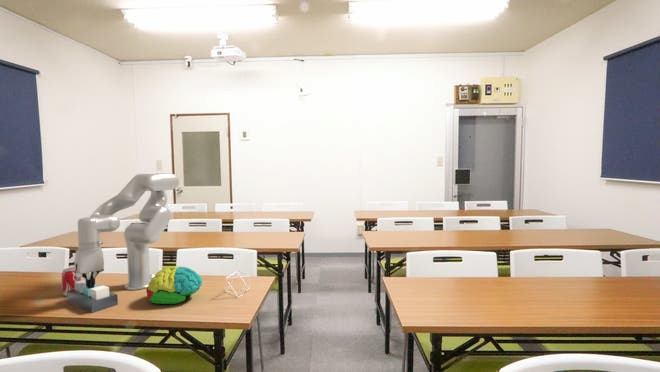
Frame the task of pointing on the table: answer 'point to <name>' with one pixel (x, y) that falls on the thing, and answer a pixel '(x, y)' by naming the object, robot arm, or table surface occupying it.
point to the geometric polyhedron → (242, 279)
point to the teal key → (88, 290)
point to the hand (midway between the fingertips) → (90, 287)
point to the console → (91, 301)
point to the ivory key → (99, 292)
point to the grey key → (80, 286)
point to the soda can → (69, 280)
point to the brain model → (173, 285)
